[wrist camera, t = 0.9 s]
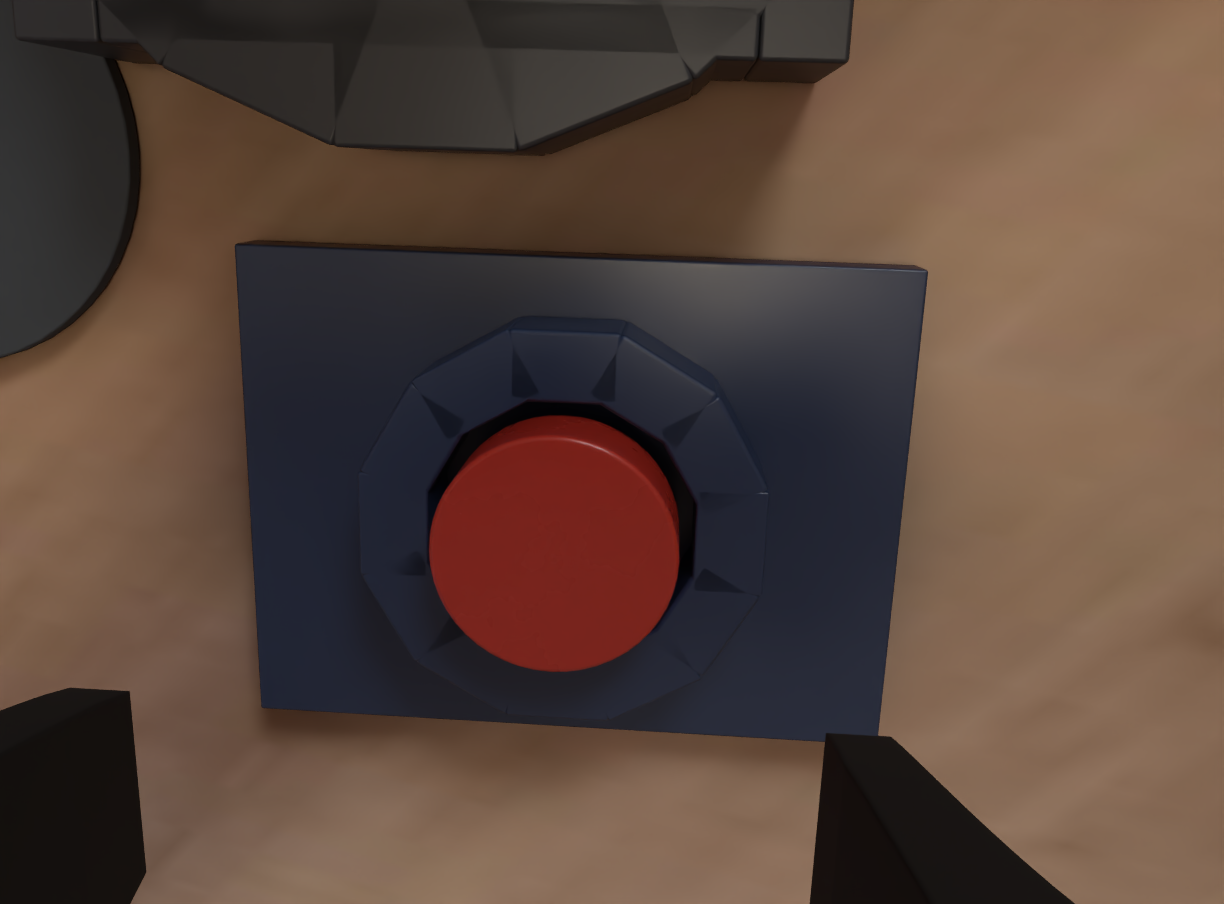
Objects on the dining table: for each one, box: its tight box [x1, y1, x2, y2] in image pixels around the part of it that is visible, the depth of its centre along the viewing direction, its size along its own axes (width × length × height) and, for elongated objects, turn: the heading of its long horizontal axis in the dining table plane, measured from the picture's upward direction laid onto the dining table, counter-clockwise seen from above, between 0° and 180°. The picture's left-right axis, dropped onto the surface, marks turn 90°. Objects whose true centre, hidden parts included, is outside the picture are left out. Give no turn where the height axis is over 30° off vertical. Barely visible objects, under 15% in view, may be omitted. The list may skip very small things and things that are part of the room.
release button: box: [429, 415, 679, 672], centre depth 18 cm, size 4×4×2 cm
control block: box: [235, 241, 928, 742], centre depth 19 cm, size 12×9×2 cm
